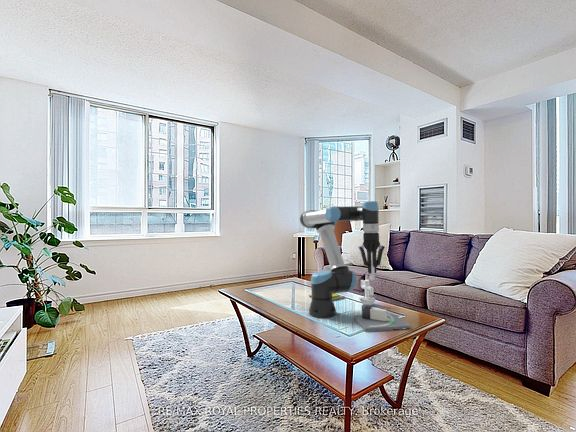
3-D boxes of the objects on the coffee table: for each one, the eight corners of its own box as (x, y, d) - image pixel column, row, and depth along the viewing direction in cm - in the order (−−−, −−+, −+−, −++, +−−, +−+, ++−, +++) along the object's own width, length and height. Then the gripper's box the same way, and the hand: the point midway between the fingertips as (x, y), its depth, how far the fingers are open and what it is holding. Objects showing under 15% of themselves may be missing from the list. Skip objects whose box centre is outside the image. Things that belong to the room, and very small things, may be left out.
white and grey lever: (360, 318, 154) (360, 306, 155) (363, 315, 159) (363, 303, 159) (388, 322, 147) (387, 310, 147) (391, 319, 151) (390, 307, 151)
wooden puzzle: (324, 303, 191) (324, 297, 191) (307, 297, 207) (307, 292, 208) (345, 299, 200) (345, 293, 200) (327, 293, 217) (327, 288, 217)
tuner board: (365, 331, 141) (365, 327, 141) (353, 319, 159) (353, 315, 159) (410, 328, 143) (410, 325, 143) (393, 316, 161) (393, 313, 161)
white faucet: (368, 307, 179) (367, 281, 179) (357, 303, 187) (357, 279, 188) (377, 305, 183) (376, 280, 183) (366, 301, 191) (365, 278, 191)
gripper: (360, 233, 145) (362, 282, 145) (386, 232, 146) (388, 280, 146) (355, 232, 152) (357, 279, 152) (380, 231, 154) (382, 277, 153)
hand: (372, 279), depth 149 cm, fingers closed
